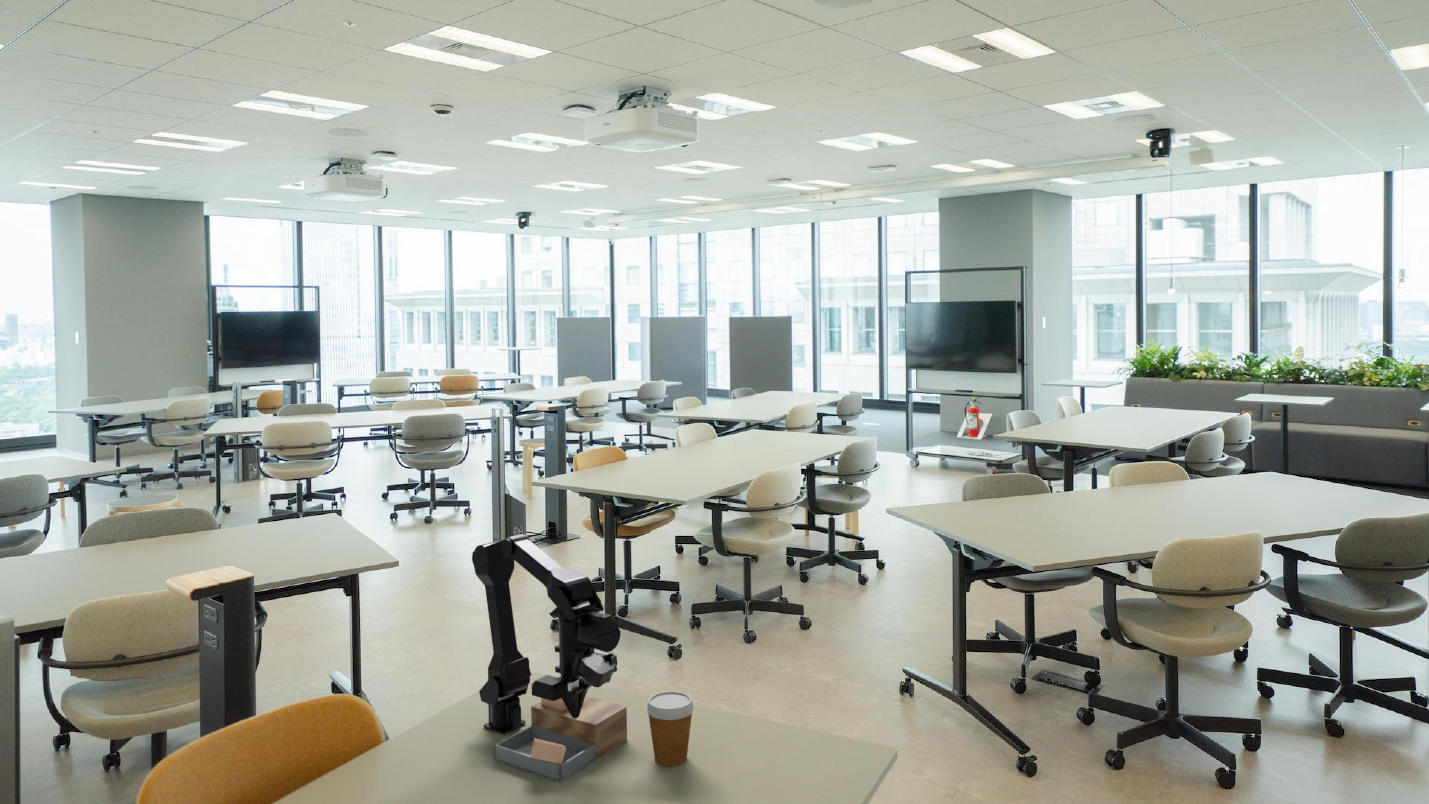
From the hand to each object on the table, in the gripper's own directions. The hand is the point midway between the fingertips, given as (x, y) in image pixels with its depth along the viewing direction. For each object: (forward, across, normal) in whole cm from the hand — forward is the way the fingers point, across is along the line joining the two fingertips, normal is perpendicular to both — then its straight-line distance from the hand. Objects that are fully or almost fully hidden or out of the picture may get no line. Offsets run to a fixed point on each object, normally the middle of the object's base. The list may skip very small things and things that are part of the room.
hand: (575, 717), depth 178 cm
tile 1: (+1, +6, +9) cm, 11 cm away
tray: (+8, -4, +4) cm, 10 cm away
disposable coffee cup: (+8, +9, -16) cm, 21 cm away
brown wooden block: (+8, +6, +4) cm, 11 cm away
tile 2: (+3, -6, +1) cm, 7 cm away
